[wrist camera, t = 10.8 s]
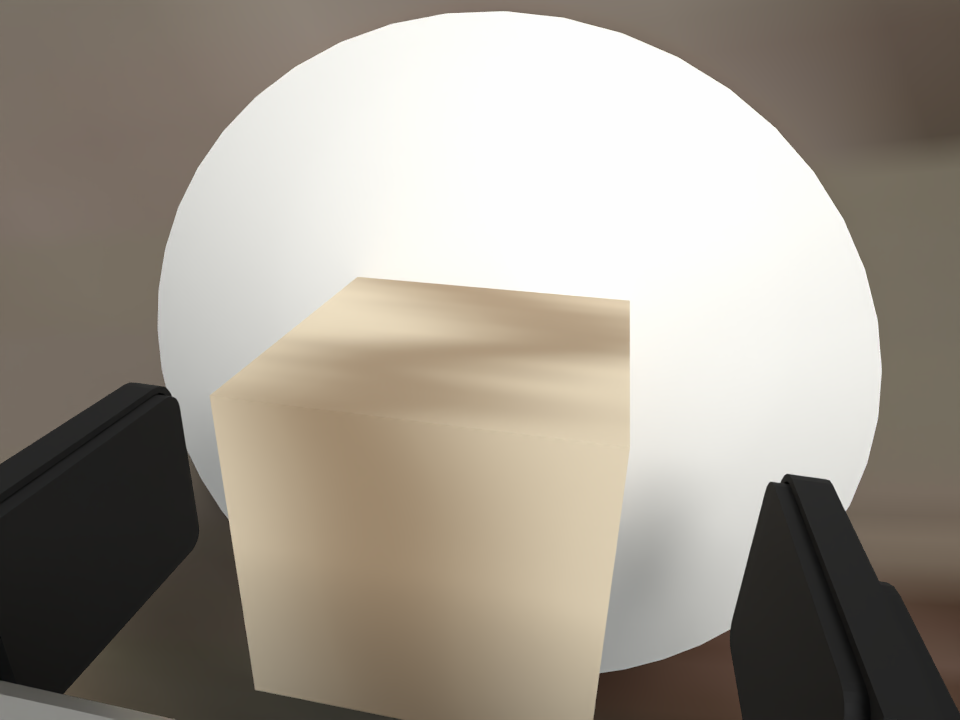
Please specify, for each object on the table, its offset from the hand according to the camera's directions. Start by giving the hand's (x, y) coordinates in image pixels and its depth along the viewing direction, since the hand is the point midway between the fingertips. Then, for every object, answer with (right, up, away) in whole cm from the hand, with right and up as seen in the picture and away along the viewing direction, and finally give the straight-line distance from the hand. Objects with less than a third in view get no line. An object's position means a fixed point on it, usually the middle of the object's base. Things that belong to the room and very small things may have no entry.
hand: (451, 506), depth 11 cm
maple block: (+1, +1, +3) cm, 3 cm away
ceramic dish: (+1, +2, +4) cm, 4 cm away
